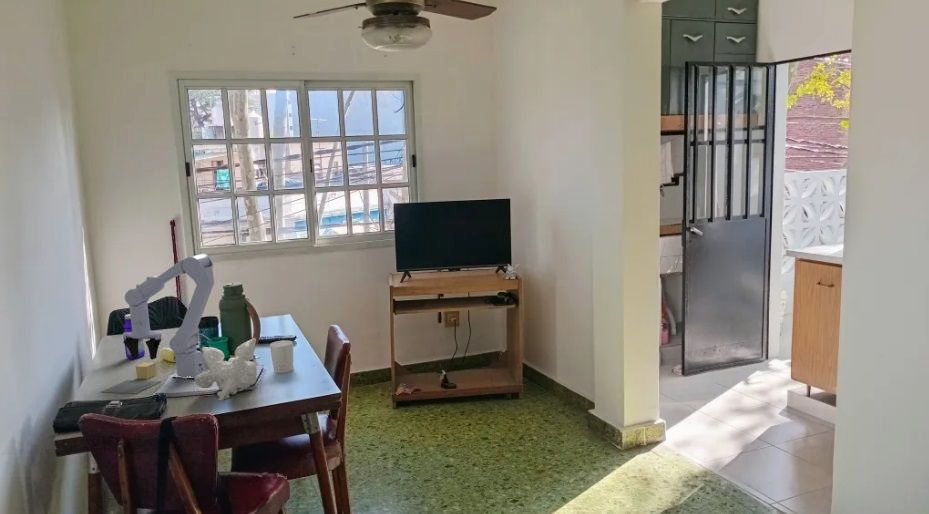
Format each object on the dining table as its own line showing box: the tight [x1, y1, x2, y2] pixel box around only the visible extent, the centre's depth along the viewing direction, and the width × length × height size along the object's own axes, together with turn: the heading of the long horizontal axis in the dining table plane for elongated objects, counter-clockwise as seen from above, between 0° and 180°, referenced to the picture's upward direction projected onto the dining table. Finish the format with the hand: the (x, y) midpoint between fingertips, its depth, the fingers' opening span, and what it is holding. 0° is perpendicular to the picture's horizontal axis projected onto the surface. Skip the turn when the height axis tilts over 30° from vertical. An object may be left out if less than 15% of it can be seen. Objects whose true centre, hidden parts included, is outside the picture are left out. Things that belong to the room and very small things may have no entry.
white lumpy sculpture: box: [194, 337, 258, 402], centre depth 216 cm, size 19×20×20 cm
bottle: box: [123, 313, 146, 360], centre depth 261 cm, size 7×6×17 cm
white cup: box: [269, 339, 294, 374], centre depth 235 cm, size 8×8×10 cm
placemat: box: [100, 379, 162, 395], centre depth 225 cm, size 14×12×1 cm
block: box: [135, 362, 158, 380], centre depth 236 cm, size 4×4×4 cm
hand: (144, 358), depth 235 cm, fingers open, 7 cm apart
